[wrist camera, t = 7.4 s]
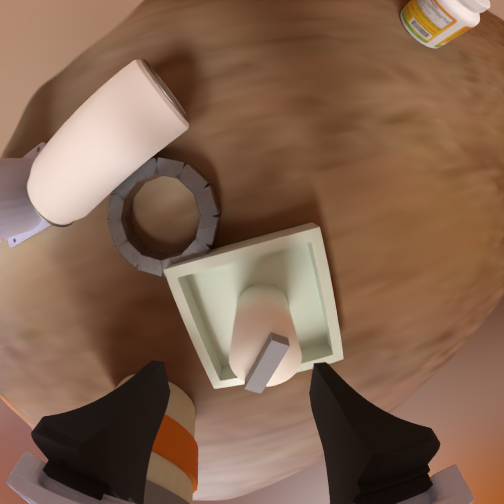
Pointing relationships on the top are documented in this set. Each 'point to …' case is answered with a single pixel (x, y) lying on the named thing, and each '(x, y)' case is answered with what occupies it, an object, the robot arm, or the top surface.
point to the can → (104, 144)
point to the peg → (263, 339)
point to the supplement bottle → (441, 19)
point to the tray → (250, 273)
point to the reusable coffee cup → (173, 453)
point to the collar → (121, 212)
